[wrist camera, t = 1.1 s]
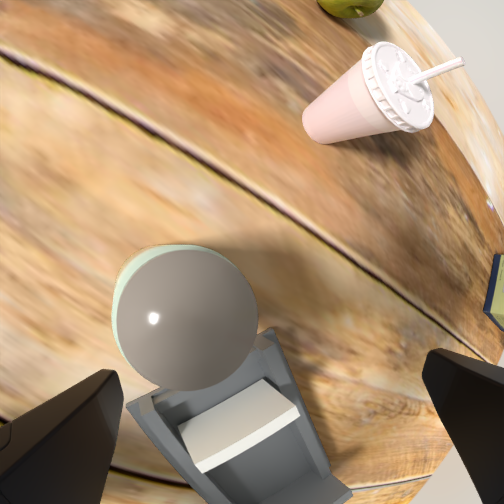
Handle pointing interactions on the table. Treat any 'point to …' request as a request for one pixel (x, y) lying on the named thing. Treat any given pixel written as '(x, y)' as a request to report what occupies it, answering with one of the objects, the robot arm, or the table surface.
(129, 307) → the jar
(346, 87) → the smoothie
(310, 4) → the table surface
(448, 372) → the robot arm
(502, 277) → the protein box
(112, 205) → the table surface
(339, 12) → the apple
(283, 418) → the block
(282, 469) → the grey rectangular tray
